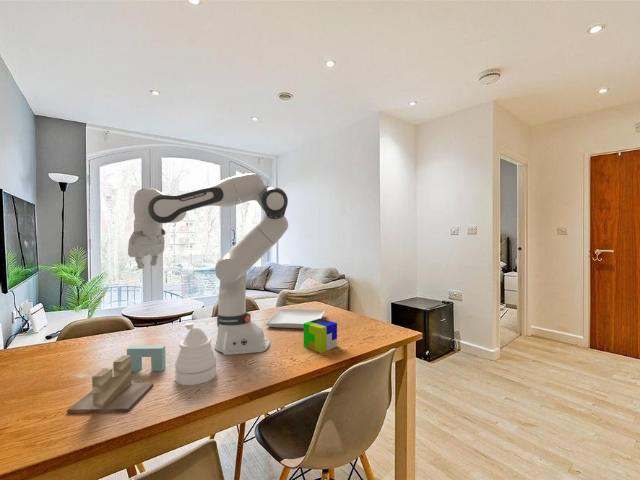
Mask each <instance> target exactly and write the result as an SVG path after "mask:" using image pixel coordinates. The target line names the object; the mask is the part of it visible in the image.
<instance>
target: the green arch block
mask: <svg viewBox="0 0 640 480" xmlns="http://www.w3.org/2000/svg"><path fill="white" fill-rule="evenodd" d="M126 355H131V372H139V371H141V370H142V369H143V358H151V359H150V366H151V367H150V368H151V372H163V371H164V370H165V369H166V345H131V346H129V347H128V348H126Z"/></svg>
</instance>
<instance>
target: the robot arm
mask: <svg viewBox="0 0 640 480" xmlns="http://www.w3.org/2000/svg"><path fill="white" fill-rule="evenodd" d="M251 201H255V202H257V203H258V205H259V206H260V208H261V209H262V210H263V211H264V216H263V218H262V219H261V220H260V221H259V222H258V223H257V224H256V225H255V226H254V227H253V228H252V229H250V230H249V232H248V233H246V235H244V236H243V237H242V238H241V239H240V240H239V241H238V242H236V244H235V245H233V246H232V247H231V248H230V249H229V250H227V252H226V253H225V254H224V255H223V256H221V258H218V260H217V261H216V264H215V267H214V271H215V273H214V274H215V276H216V278H217V279H218V281H219V289H218V294H217V297H218V298H217V299H218V300H217V301H218V303H217V304H218V305H217V307H218V313H217V315H216V316H217V317H216V327H217V336H216V340H215V345H214V350H215V351H217V352H219V353H222V354H223V355H225V356H230V355H233V356H234V355H241V354H254V353H263V352H265V351H266V350H268V349H269V347H270V339H269V338H267V337H265V333H264V330H263V328H262V327H260V326H259V325H257V324H256V323H254V322H253V321H252V319H251V317H252V316H251V314H252V313H251V312H247V311H246V310H247V308H246V306H247V305H246V300H247V299H246V298H247V297H246V293H247V291H246V290H247V277H248V276H247V275H248V274H247V273H248V271H249V270H250V269H251V268H252V267H253V266H254V265H255V264H256V263H257V262H258V261H259V260H261V258H263V257H264V255H265V254H266V253H267V252H268V251H269V250H270V249H272V247H274V246H275V245H276V243H278V242H279V240H280V239H281V238H283V235H285V233H286V231H287V230H288V228H289V222H288V219H287V218H286V217H285V214H286V210H287V207H288V203H289V198H288V195H287V193H286V192H285V190H283V189H282V188H280V187H277V186H268V185H265V182H264V180H263V179H262V177H261V176H260V175H259V174H258V173H255V172H249V173H243V174H238V175H233V176H230V177H228V178H225V179H222V180H219V181H218V182H215V183H213V184H211V185H209V186H206V187H203V188H200V189H198V190H193V191H190V192H187V193H182V194H179V195H168V194H165V193H163V192H161V191H159V190H158V189H156V188H153V187H152V188H141V189H139V190H137V191H136V192H135V194H134V197H133V215H134V219H133V232H132V233H131V235H130V237H129V240H128V246H127V254H128V256H129V258H134V260H135V262H136V264H137V269H139V270H141V269H145V263H144V262H143V261H144V260H143V259H144V257H146V256H151V260H150V266H153V267H155V266H157V264H158V259H159V254H163V253H164V251H165V241H166V240H165V235H166V230H165V229H164V228H162V227H161V224H168V223H169V224H171V223H173V224H174V223H178V222H180V221H182V220H183V219H184V218H185V217H186V214H187V212H190V211H193V210H197V209H199V208H204V207H208V206H209V207H210V206H215V207H223V208H224V207H232V206H237V205H240V204H243V203H246V202H247V203H248V202H251Z"/></svg>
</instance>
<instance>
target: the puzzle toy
mask: <svg viewBox="0 0 640 480" xmlns="http://www.w3.org/2000/svg"><path fill="white" fill-rule="evenodd" d="M337 346H338V323H337V322H334V321H332V320H328V319H324V318H321V319H320V318H319V319H316V320H313V321H310V322H306V323H304V329H303V348H306V349H309V350H312V351H314V352H317V353H320V354H322V353H324V351H325V352H326V351H329V350H331V349H334V348H337Z"/></svg>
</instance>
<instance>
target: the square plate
mask: <svg viewBox="0 0 640 480" xmlns="http://www.w3.org/2000/svg"><path fill="white" fill-rule="evenodd" d="M325 313H326V310H320V309H307V308H306V309H305V308H303V309H302V308H279V309H277V310H276V311H274V313H273V314H272V315H271V316H270V317H269V318H268V319H267V320H266V321H265V322H264V324H265V325H266V326H267V327H271V328H281V329H282V328H283V329H301V330H302V329H303V330H304V323H306V322H310V321H313V320H316V319H319V318H320V319H323V316H324V314H325Z"/></svg>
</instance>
